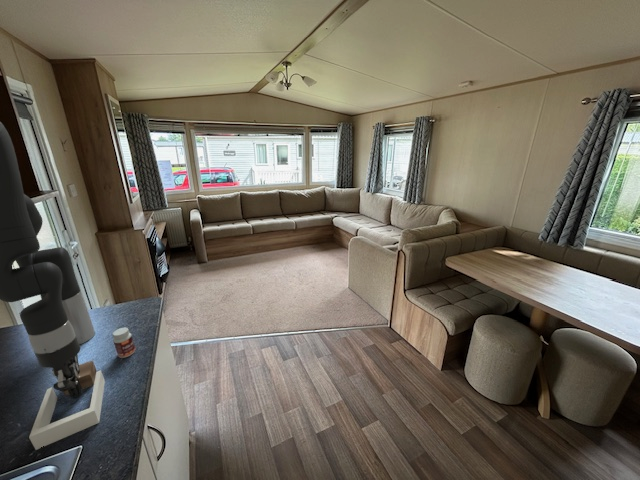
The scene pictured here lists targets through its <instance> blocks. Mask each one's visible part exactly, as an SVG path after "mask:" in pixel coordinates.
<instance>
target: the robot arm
mask: <svg viewBox="0 0 640 480" xmlns="http://www.w3.org/2000/svg"><path fill="white" fill-rule="evenodd" d="M15 151H16V149H15V147H14V144H13V141H12V138H11V136H10V134H9V132H8V130H7V128H6V127H5V125H4V123H2V122H1V121H0V300H1V301H3V302H6V303H15V302H19V301H23V300H26V299H30V298H33V297H36V296H40V298H41V299H39V300H37V301H36V302H33V303H31V304H29V305H28V306H26V307H24V308H22V310H21V311H20V313H19V317H20V320H21V322H22V324H23V326H24V328H25V331H26V333H27V337H28V341H29V344H30V346H31V348H32V350H33V353H34V356H36V357H35V358H36V360H37V362H38V364H39V365H40V367H42V368H51V373H52V375H53V377H55V378H56V380H57V382H56V383H54V384H53V390H57V391H59V392H61V393H64V392H65V391H67V390H68V392H69V394H68V395H69V396H70V398H71V399H74V398H77V397H79V396H81V395H82V393H83V389H82V387H81V385H80V382H79V378H80V377H79V375H78V374H79V373H80V370H79V365H80V364H79V356H78V354H79V353H80V352H81V346H80V345H82V344H84V343H86V342H88V341H89V340H91V339H92V338H93V337H95V334H96V331H95V328H94V325H93V322H92V319H91V316H90V313H89V311H88V307H87V305H86V303H85V299H84V296H83V293H82V290H81V288H80V285H79V283H78V282H79V281H78V279H77V275H76V273H75V269H74V266H73V262H72V258H71V256H70V255H71V254H70V253H69V252H68V250H67V249H66V248H65V247H63V246H59V247H54V248H47V249H42V250H41V249H40V248H41V247H40V243H39V239H38V235H39V233H40V231H41V230H42V227H43V218H42V216H41V214H40V212H39V210H38V208H37V205H36V204H35V202H34V201H33V200H32V199H31V198H30V197H29V196H28V195H26V194H25V192H24V188H23V182H22V177H21V172H20V169H19V164H18V158H17V155H16V152H15ZM15 262H16V264H17V266H18V267H17V268H16V267H15V268H13V265H14V263H15Z"/></svg>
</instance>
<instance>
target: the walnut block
mask: <svg viewBox="0 0 640 480" xmlns="http://www.w3.org/2000/svg"><path fill="white" fill-rule="evenodd" d="M79 370H80V373H79V374H78V375H79V377H80V378H79V382H80V385H81V387H82V390H84V389H87V388H90V387H92V386H93V387H94V382H95V377H96V372H97V368H96V366H95V363H94V361H93V359H92V360H90V361H87V362H84V363H81V364H79ZM63 393H64V395H65V396H68V395H69V392H68V390H67V391H65V392H63Z"/></svg>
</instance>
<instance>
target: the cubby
mask: <svg viewBox="0 0 640 480" xmlns="http://www.w3.org/2000/svg"><path fill="white" fill-rule="evenodd" d="M105 380H106V379H105V377H104V374H103V373H102V370H101V369H100V370H98V371H97V372H96V377H95V382H94V385H93V390H92V394H91V400H90V404H89V408H86V409H84V410H82V411H79V412H76V413H73V414H71V415H68V416H66V417H63V418H61V419H59V420H56V421H54V422H51V421H52V417H53V414H54V411H55V408H56V406H57V402H58V397H57V394H56V393H55V389H54V387H50V388H47V389H46V392H45V393H44V396H43V398H42V399H43V400H42V402H41V404H40V407H39V409H38V412H37V415H36V417H35V420H34V423H33V426H32V428H31V431H30V434H29V440H30V442H31V444H32V446H33V448H34V449H35V451H37V450H40V449H41V447H42V448H44V447H46V446H48V445H51V444H53V443H55V442H58V441H60V440H63V439H65V438H68V437H69V436H72V435H74V434H76V433H78V432H81V431H83V430H85V429H88V428H90V427H93V426H94V425H96V424H99V423H100V420H101V413H102V406H103V398H104V391H105V383H106V381H105ZM43 446H44V447H43Z"/></svg>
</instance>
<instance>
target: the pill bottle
mask: <svg viewBox="0 0 640 480" xmlns="http://www.w3.org/2000/svg"><path fill="white" fill-rule="evenodd" d="M112 336H113V340H112V341H113V345H114V348H115V351H116V353H117V356H118V357H119V358H121V359H124V358H128V357H130V356H132V355H134V353H135V352H136V346H135V343H134V338H133V335H132V333H131V332H130V330H129V328H128V327H120V328H118V329H116V330H114V331H113V332H112Z"/></svg>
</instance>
